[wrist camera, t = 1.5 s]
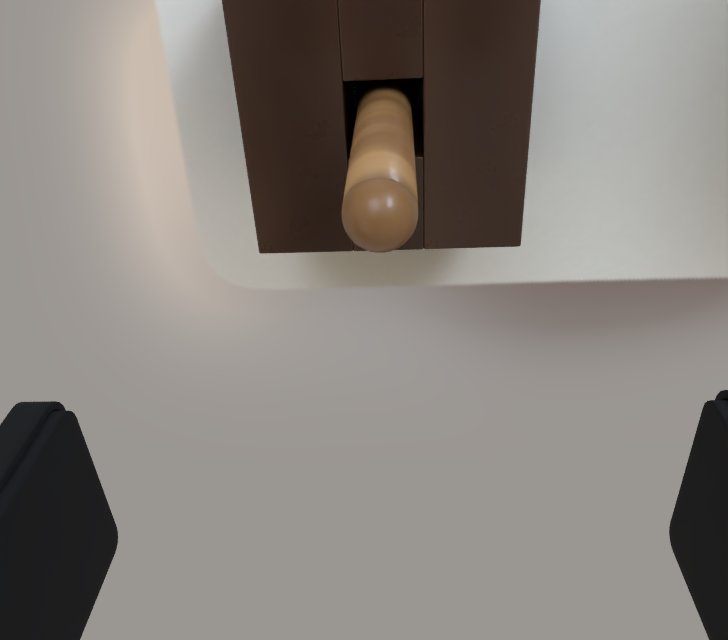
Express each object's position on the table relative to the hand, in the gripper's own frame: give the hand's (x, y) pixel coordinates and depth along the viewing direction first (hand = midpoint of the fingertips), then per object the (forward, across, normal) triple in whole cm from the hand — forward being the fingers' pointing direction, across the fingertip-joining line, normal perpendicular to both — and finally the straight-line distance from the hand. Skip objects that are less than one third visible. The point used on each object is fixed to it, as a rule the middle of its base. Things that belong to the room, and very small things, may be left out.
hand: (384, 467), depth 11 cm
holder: (+24, 0, 0) cm, 24 cm away
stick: (+24, 0, 0) cm, 24 cm away
